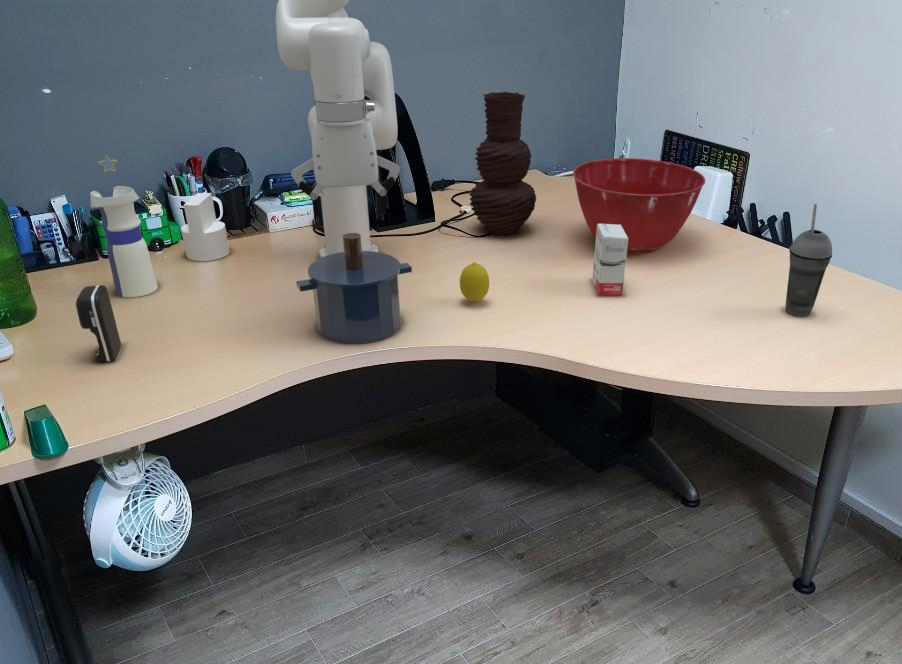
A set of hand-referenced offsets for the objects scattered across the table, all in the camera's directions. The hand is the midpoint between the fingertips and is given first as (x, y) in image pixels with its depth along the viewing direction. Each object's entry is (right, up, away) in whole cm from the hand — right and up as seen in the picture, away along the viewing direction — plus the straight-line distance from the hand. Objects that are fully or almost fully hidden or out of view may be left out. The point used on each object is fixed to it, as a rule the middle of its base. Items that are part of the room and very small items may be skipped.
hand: (350, 219), depth 133 cm
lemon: (+20, -12, +19) cm, 30 cm away
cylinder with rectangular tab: (-38, +2, +41) cm, 56 cm away
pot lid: (0, -8, +5) cm, 9 cm away
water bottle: (-46, -8, +24) cm, 53 cm away
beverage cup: (+80, -14, +16) cm, 83 cm away
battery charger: (-41, -22, +1) cm, 46 cm away
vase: (+26, +10, +55) cm, 62 cm away
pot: (0, -17, +10) cm, 20 cm away
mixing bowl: (+55, +6, +48) cm, 73 cm away
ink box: (+46, -8, +26) cm, 53 cm away
